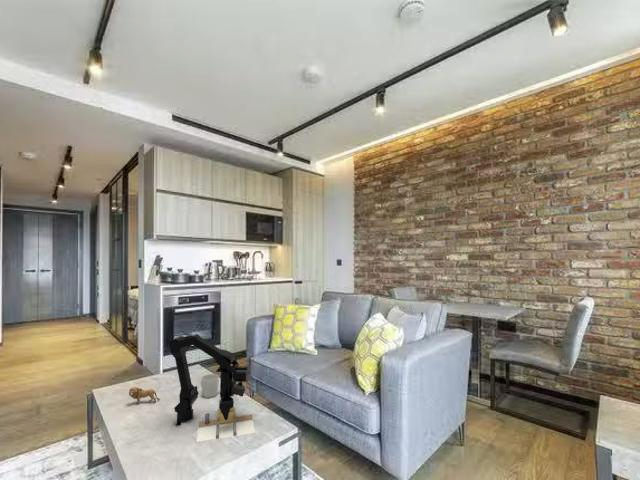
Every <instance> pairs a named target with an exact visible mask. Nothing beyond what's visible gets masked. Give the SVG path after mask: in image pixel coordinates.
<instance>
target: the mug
mask: <svg viewBox="0 0 640 480" xmlns="http://www.w3.org/2000/svg"><path fill="white" fill-rule="evenodd" d="M219 379H220V376H219V375H218V374H216V373H210V374H205V375H204V376H202V378H201V381H200V385H201V392H202V396H203V397H204V398H209V399H210V398H213V397H216V395H217V394H218V390H219V386H220V384H219V382H220V380H219Z"/></svg>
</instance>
